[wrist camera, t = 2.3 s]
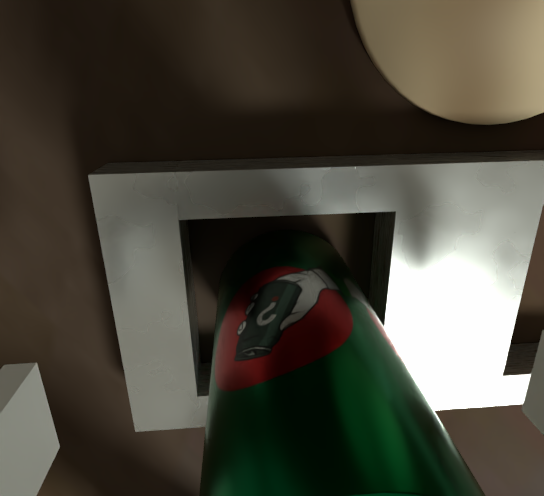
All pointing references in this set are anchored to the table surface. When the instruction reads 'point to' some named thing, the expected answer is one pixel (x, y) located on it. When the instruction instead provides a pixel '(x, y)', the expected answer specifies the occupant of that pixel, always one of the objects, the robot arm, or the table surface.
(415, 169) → the white flat rectangular frame
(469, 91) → the coaster
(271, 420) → the soda can
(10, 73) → the table surface
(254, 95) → the table surface
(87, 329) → the table surface
